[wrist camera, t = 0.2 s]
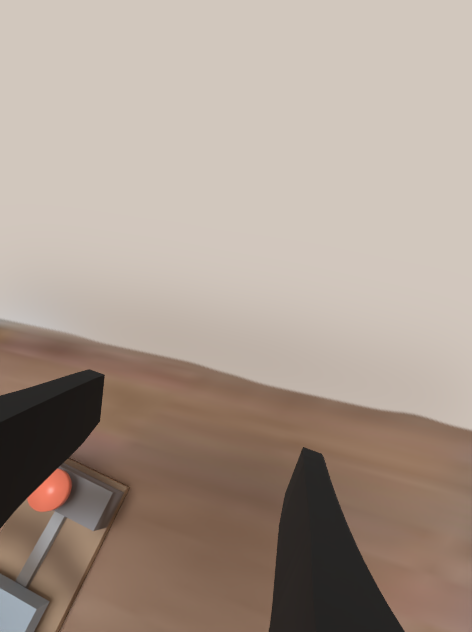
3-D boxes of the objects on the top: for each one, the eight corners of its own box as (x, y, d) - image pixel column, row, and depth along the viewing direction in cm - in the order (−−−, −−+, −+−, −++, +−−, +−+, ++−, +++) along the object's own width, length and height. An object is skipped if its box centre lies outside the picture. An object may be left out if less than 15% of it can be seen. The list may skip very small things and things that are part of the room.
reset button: (56, 518, 31) (51, 518, 31) (24, 501, 32) (18, 501, 31) (79, 477, 33) (74, 477, 32) (48, 462, 34) (43, 461, 33)
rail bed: (35, 679, 31) (1, 711, 27) (-51, 625, 33) (-97, 647, 28) (129, 487, 39) (115, 486, 34) (55, 451, 40) (32, 446, 36)
